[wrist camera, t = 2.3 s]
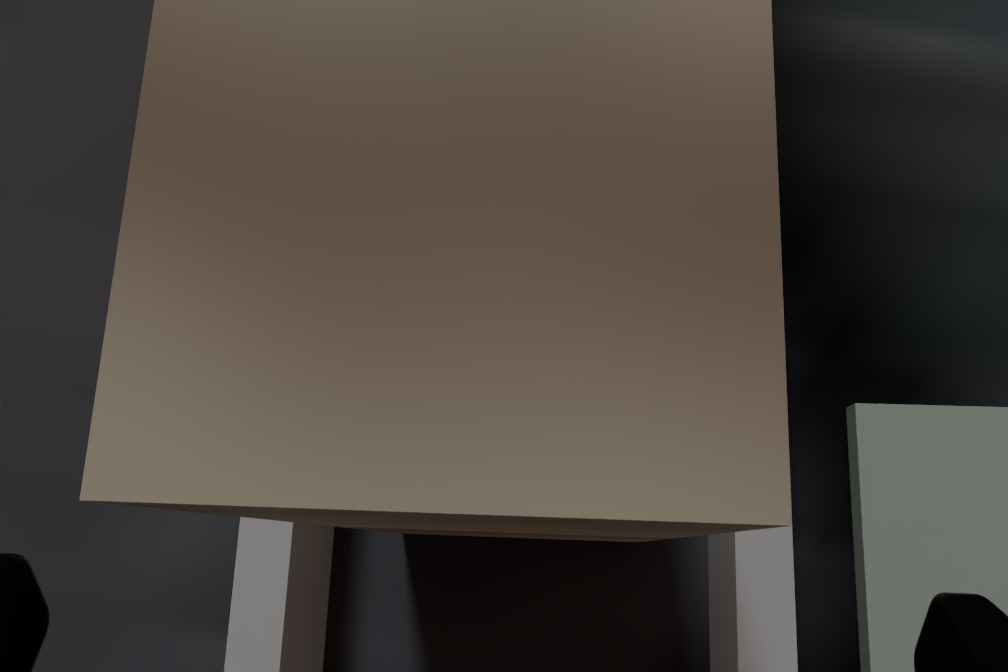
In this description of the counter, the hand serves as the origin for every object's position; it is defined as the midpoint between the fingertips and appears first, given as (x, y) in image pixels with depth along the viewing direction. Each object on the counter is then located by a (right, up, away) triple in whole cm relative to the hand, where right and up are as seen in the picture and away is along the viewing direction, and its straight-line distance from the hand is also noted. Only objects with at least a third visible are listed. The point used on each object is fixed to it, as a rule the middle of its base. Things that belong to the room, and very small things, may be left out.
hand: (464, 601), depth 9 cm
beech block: (+1, +1, +11) cm, 11 cm away
